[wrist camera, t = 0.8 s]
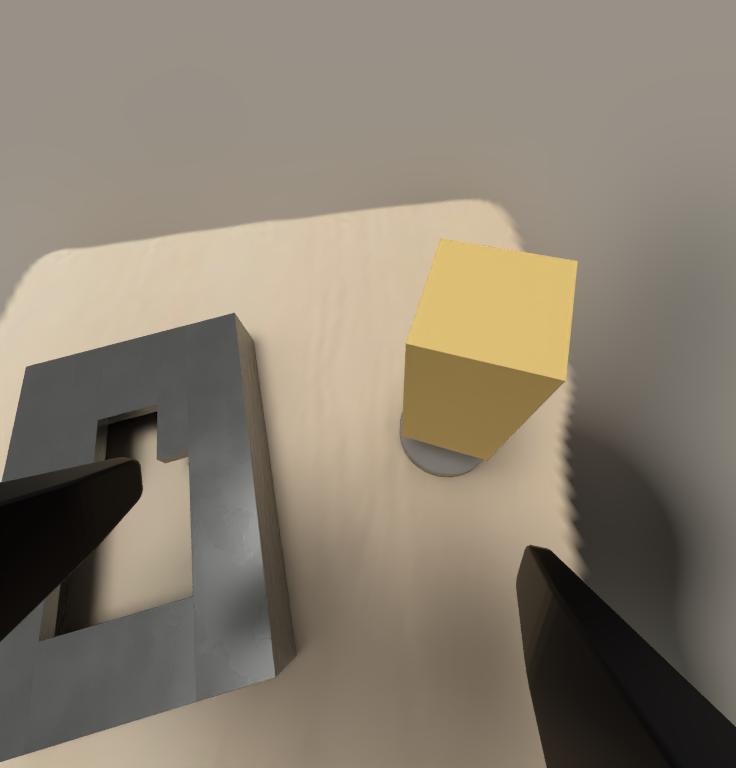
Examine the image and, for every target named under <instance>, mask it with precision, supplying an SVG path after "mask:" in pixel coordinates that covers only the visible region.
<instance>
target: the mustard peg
mask: <svg viewBox="0 0 736 768" xmlns="http://www.w3.org/2000/svg"><path fill="white" fill-rule="evenodd" d="M577 262H578V261H573V260H567V259H561V258H555V257H549V256H543V255H537V254H532V253H526V252H520V251H514V250H508V249H502V248H496V247H490V246H484V245H478V244H472V243H466V242H460V241H454V240H448V239H442V238H440V241H439V244H438V247H437V250H436V253H435V256H434V259H433V262H432V265H431V268H430V271H429V274H428V277H427V280H426V284H425V287H424V290H423V293H422V296H421V299H420V302H419V305H418V308H417V311H416V314H415V317H414V320H413V323H412V326H411V329H410V333H409V336H408V339H407V342H406V352H405V376H404V399H403V412H402V415H401V419H400V439H401V443H402V446H403V449H404V451H405V453H406V454H407V456H408V457H409V459H410V460H411V461H412V462H413V463H414V464H415V465H416V466H417V467H419V468H420V469H422V470H423V471H425V472H427V473H430V474H432V475H436V476H441V477H453V476H459V475H462V474H464V473H467V472H469V471H470V470H472V469H473V468H475V467H476V466H477V465H478V464H479V463H480V462H481V461H482V459H483V460H488V459H489V458H490V457H491V456H492V455H493V454H494V453H495V452H496V451H497V450H498V449H499V448H500V447H501V446H502V445H503V444H504V443H505V442H506V441H507V440H508V439H509V438H510V437H511V436H512V435H513V434H514V433H515V432H516V431H517V430H518V429H519V428H520V427H521V426H522V425H523V424H524V423H525V422H526V421H527V420H528V418H529V417H530V416H531V415H532V414H533V413H534V412H535V411H536V410H537V409H538V408H539V407H540V406H541V405H542V404H543V403H544V402H545V401H546V400H547V399H548V398H549V397H550V396H551V395H552V394H553V393H554V392H555V391H556V390H557V389H558V388H559V387H560V386H561V385H562V384H563V383H564V382H565V381H566V372H567V362H568V352H569V342H570V332H571V322H572V312H573V302H574V292H575V282H576V272H577Z"/></svg>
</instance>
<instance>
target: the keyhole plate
mask: <svg viewBox="0 0 736 768" xmlns="http://www.w3.org/2000/svg"><path fill="white" fill-rule="evenodd" d="M156 411H157V460H159V461H161V462H164V463H167V462H171V461H175V460H178V459H182V458H186V457H189V477H190V511H191V544H192V578H193V597H189V598H186V599H183V600H179V601H176V602H172V603H169V604H166V605H162V606H159V607H155V608H152V609H149V610H145V611H142V612H138V613H135V614H132V615H128V616H125V617H121V618H118V619H115V620H111V621H108V622H105V623H101V624H98V625H94V626H91V627H88V628H84V629H81V630H77V631H74V632H71V633H67V634H64V635H62V628H63V619H64V610H65V601H66V592H67V583H68V577H67V578H66V579H65V580H64V581H63V582H62V583H61V584H60V585H59V586H58V587H57V588H56V589H55V590H54V591H53V592H52V593H51V594H50V595H49V596H48V597H47V598H46V599H44V600H43V601H42V602H41V603H40V604H39V605H38V606H37V607H36V608H35V609H34V610H33V611H32V612H31V613H30V614H29V615H28V616H27V617H26V618H25V619H24V620H23V621H22V622H21V623H20V624H19V625H18V626H17V627H16V628H15V629H14V630H13V631H12V632H11V633H9V634H8V635H7V636H6V637H5V638H4V639H3V640H2V641H1V642H0V762H2V761H5V760H9V759H12V758H15V757H18V756H22V755H25V754H28V753H31V752H35V751H38V750H41V749H44V748H48V747H51V746H54V745H57V744H61V743H64V742H67V741H70V740H74V739H77V738H80V737H83V736H87V735H90V734H93V733H96V732H100V731H103V730H106V729H109V728H113V727H116V726H119V725H122V724H126V723H129V722H132V721H135V720H138V719H142V718H145V717H148V716H151V715H155V714H158V713H161V712H164V711H168V710H171V709H174V708H177V707H181V706H184V705H187V704H190V703H194V702H197V701H200V700H203V699H207V698H210V697H213V696H216V695H220V694H223V693H226V692H229V691H233V690H236V689H239V688H242V687H246V686H249V685H252V684H255V683H259V682H262V681H265V680H268V679H271V678H275V677H276V676H277V675H278V674H279V673H280V672H281V671H282V670H283V669H284V668H285V667H286V666H287V665H288V664H289V663H290V662H291V661H292V660H293V659H294V658H295V657H296V649H295V641H294V634H293V627H292V619H291V612H290V605H289V597H288V590H287V583H286V575H285V568H284V561H283V553H282V546H281V539H280V531H279V524H278V517H277V510H276V502H275V495H274V488H273V480H272V473H271V466H270V458H269V451H268V444H267V436H266V429H265V422H264V414H263V407H262V400H261V392H260V385H259V378H258V370H257V363H256V356H255V348H254V341H253V339H252V338H251V336H250V335H249V333H248V332H247V330H246V329H245V327H244V326H243V324H242V323H241V322H240V320H239V319H238V317H237V316H236V314H235V313H232V314H228V315H224V316H221V317H217V318H213V319H209V320H205V321H201V322H197V323H194V324H190V325H186V326H182V327H178V328H174V329H170V330H167V331H163V332H159V333H155V334H151V335H147V336H143V337H140V338H136V339H132V340H128V341H124V342H120V343H116V344H112V345H109V346H105V347H101V348H97V349H93V350H89V351H85V352H82V353H78V354H74V355H70V356H66V357H62V358H58V359H55V360H51V361H47V362H43V363H39V364H35V365H31V366H28V367H26V370H25V375H24V379H23V384H22V389H21V394H20V398H19V403H18V408H17V412H16V417H15V422H14V427H13V431H12V436H11V441H10V445H9V450H8V455H7V460H6V464H5V469H4V474H3V478H2V482H5V481H9V480H14V479H19V478H24V477H28V476H33V475H38V474H42V473H47V472H52V471H57V470H61V469H66V468H71V467H75V466H80V465H85V464H90V463H94V462H99V461H104V460H105V454H106V441H107V429H108V424H112V423H115V422H119V421H123V420H126V419H130V418H134V417H138V416H141V415H145V414H149V413H152V412H156Z"/></svg>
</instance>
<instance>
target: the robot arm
mask: <svg viewBox="0 0 736 768" xmlns="http://www.w3.org/2000/svg"><path fill="white" fill-rule="evenodd" d="M142 491H143V485H142V475H141V466H140V463H139V462H138V461H137V460H134V459H130V458H125V457H118V458H113V459H108V460H104V461H99V462H94V463H90V464H85V465H80V466H75V467H71V468H66V469H61V470H57V471H52V472H47V473H42V474H38V475H33V476H28V477H24V478H19V479H14V480H9V481H5V482H0V642H1V641H2V640H3V639H4V638H5V637H6V636H7V635H8V634H9V633H11V632H12V631H13V630H14V629H15V628H16V627H17V626H18V625H19V624H20V623H21V622H22V621H23V620H24V619H25V618H26V617H27V616H28V615H29V614H30V613H31V612H32V611H33V610H34V609H35V608H36V607H37V606H38V605H39V604H40V603H41V602H42V601H43V600H44V599H46V598H47V597H48V596H49V595H50V594H51V593H52V592H53V591H54V590H55V589H56V588H57V587H58V586H59V585H60V584H61V583H62V582H63V581H64V580H65V579H66V578H67V577H68V576H69V575H70V574H71V573H72V572H73V571H74V570H75V569H76V568H77V567H78V566H79V565H80V564H81V563H82V562H83V561H84V560H85V559H86V558H87V557H88V556H89V555H90V554H91V553H92V552H93V551H94V550H95V549H96V548H97V547H98V546H99V545H100V543H101V542H102V541H103V540H104V539H105V538H106V537H107V535H108V534H109V533H110V532H111V531H112V530H113V529H114V528H115V526H116V525H117V524H118V523H119V522H120V521H121V520H122V519H123V517H124V516H125V515H126V514H127V513H128V512H129V511H130V509H131V508H132V507H133V506H134V505H135V504H136V503H137V502H138V500H139V499H140V497H141V495H142ZM516 590H517V599H518V607H519V616H520V624H521V633H522V641H523V650H524V658H525V666H526V673H527V678H528V683H529V689H530V693H531V698H532V702H533V707H534V712H535V716H536V721H537V725H538V730H539V734H540V739H541V744H542V748H543V753H544V757H545V762H546V766H547V768H736V727H735V726H734V725H733V724H732V723H731V722H730V721H729V720H728V719H727V718H726V717H725V716H724V715H723V714H722V713H721V712H720V711H718V710H717V709H716V708H715V707H714V706H713V705H712V704H711V703H710V702H709V701H708V700H707V699H706V698H705V697H704V696H703V695H702V694H701V693H700V692H699V691H698V690H696V688H694V687H693V686H692V685H691V684H690V683H689V682H688V681H687V680H686V679H685V678H684V677H683V676H682V675H681V674H680V673H679V672H678V671H677V670H676V669H675V668H674V667H672V666H671V665H670V664H669V663H668V662H667V661H666V660H665V659H664V658H663V657H662V656H661V655H660V654H659V653H658V652H657V651H656V650H655V649H654V648H653V647H652V646H650V645H649V644H648V643H647V642H646V641H645V640H644V639H643V638H642V637H641V636H640V635H639V634H638V633H637V632H636V631H635V630H634V629H632V627H631V626H630V625H628V624H627V623H626V622H625V621H624V620H623V619H622V618H621V617H620V616H619V615H618V614H617V613H616V612H615V611H614V610H613V609H611V607H610V606H608V605H607V604H606V603H605V602H604V601H603V600H602V599H601V598H600V597H599V596H598V595H597V594H596V593H595V592H594V591H593V590H592V589H591V588H590V587H588V585H587V584H585V583H584V582H583V581H582V580H581V579H580V578H579V577H578V576H577V575H576V574H575V573H574V572H573V571H572V570H571V569H570V568H569V567H568V566H567V565H566V564H565V563H564V562H562V561H561V560H560V559H559V558H558V557H557V556H556V555H555V554H554V553H553V552H552V551H551V550H549V549H547V548H542V547H538V546H533V545H529V546H527V547H526V549H525V551H524V554H523V557H522V561H521V564H520V568H519V571H518V575H517V581H516Z"/></svg>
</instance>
